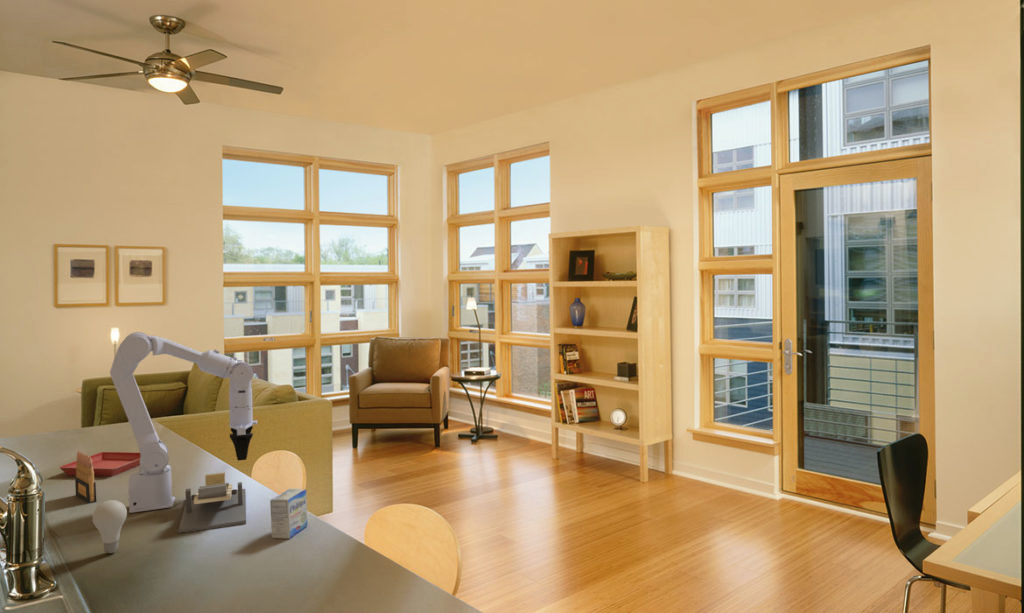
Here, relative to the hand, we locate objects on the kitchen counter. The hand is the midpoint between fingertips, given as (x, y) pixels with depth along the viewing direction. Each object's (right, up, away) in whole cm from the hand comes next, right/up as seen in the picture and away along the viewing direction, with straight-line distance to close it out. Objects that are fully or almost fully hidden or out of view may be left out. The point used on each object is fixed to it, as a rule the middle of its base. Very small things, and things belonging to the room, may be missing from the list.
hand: (242, 456), depth 174 cm
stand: (-1, -10, -14) cm, 18 cm away
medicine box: (+23, -10, -30) cm, 39 cm away
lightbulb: (-11, -11, -39) cm, 42 cm away
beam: (-1, -6, -15) cm, 16 cm away
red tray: (-52, -10, +26) cm, 59 cm away
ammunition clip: (-40, -11, -3) cm, 42 cm away
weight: (-3, -7, -8) cm, 11 cm away
